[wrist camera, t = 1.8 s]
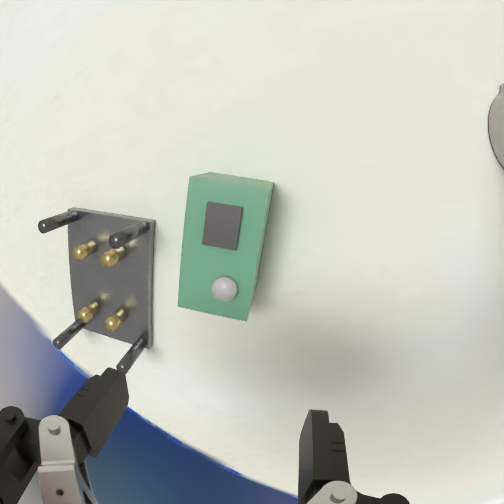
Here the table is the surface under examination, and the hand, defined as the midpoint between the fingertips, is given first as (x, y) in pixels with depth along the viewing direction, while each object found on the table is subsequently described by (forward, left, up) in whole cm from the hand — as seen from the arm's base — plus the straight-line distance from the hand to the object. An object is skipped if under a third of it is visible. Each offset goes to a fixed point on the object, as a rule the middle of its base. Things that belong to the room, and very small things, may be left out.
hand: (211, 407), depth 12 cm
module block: (-3, -2, -18) cm, 18 cm away
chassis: (+4, -15, -17) cm, 23 cm away
